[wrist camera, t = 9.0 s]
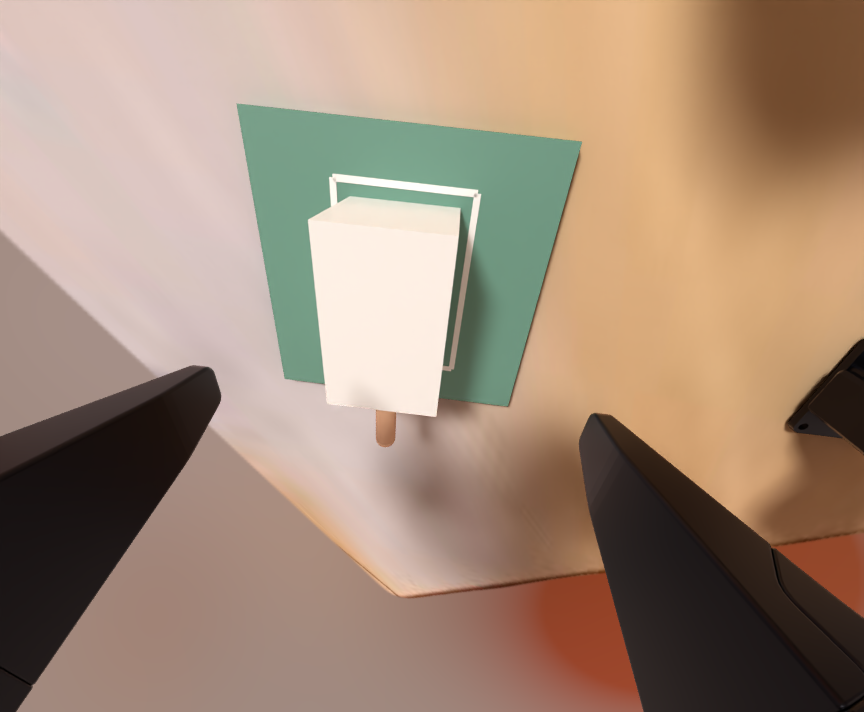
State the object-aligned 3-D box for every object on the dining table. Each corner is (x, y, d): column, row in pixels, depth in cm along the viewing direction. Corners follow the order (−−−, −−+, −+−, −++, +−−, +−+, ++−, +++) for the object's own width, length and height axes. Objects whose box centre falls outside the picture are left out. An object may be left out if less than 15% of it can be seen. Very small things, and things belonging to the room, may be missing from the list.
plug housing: (460, 208, 16) (458, 236, 11) (436, 403, 22) (429, 467, 18) (349, 196, 16) (307, 219, 11) (357, 393, 22) (332, 455, 18)
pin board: (578, 141, 14) (600, 143, 12) (506, 400, 22) (511, 432, 20) (244, 104, 15) (202, 99, 12) (288, 373, 22) (268, 401, 20)
